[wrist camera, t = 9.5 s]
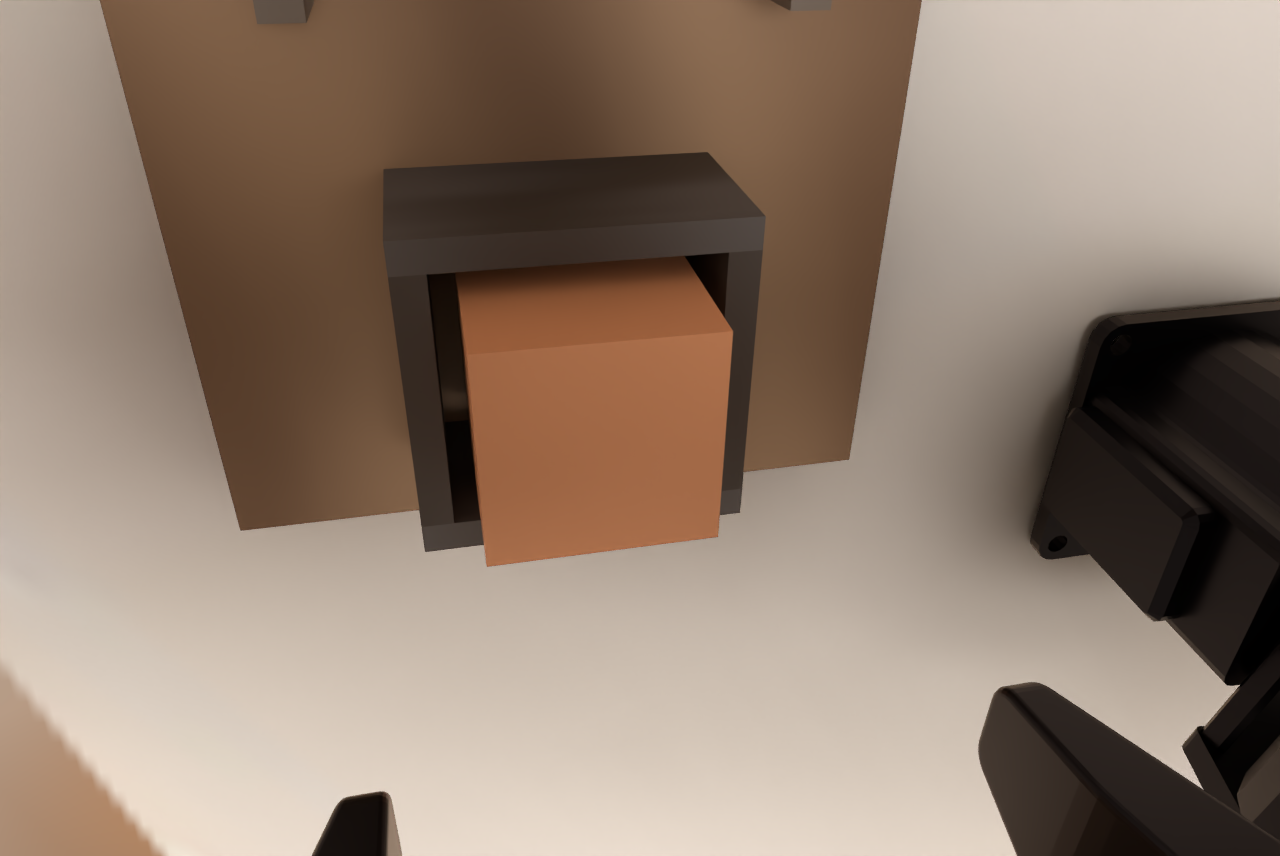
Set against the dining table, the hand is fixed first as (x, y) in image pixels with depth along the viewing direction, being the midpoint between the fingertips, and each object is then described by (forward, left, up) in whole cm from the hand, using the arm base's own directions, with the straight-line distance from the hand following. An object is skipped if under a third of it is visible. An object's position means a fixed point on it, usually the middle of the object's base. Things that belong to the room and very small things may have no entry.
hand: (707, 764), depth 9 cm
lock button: (0, 0, -8) cm, 8 cm away
